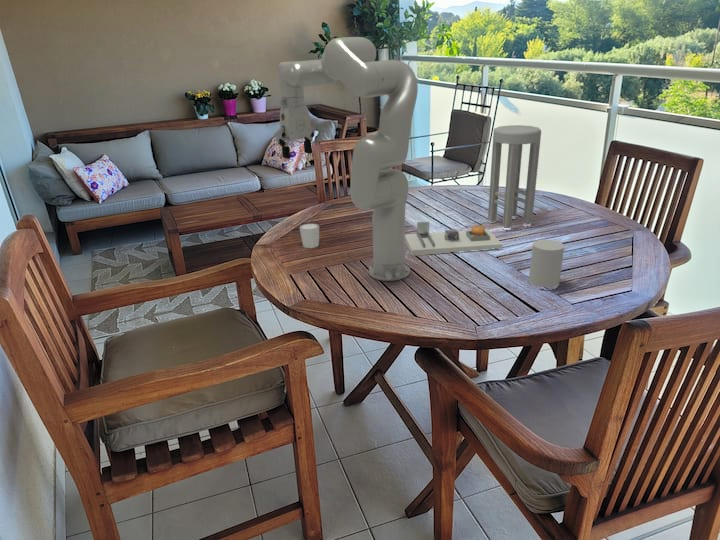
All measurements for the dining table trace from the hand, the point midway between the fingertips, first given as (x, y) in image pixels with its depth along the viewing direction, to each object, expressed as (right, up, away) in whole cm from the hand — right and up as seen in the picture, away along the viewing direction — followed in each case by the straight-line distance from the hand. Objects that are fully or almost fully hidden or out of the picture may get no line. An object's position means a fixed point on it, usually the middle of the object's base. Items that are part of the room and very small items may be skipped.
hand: (297, 155), depth 175 cm
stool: (+77, -22, +19) cm, 82 cm away
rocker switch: (+52, -27, +1) cm, 59 cm away
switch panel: (+52, -30, +2) cm, 60 cm away
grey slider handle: (+43, -27, +5) cm, 51 cm away
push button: (+61, -26, +1) cm, 66 cm away
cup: (+73, -43, -28) cm, 89 cm away
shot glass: (+4, -30, +7) cm, 31 cm away
